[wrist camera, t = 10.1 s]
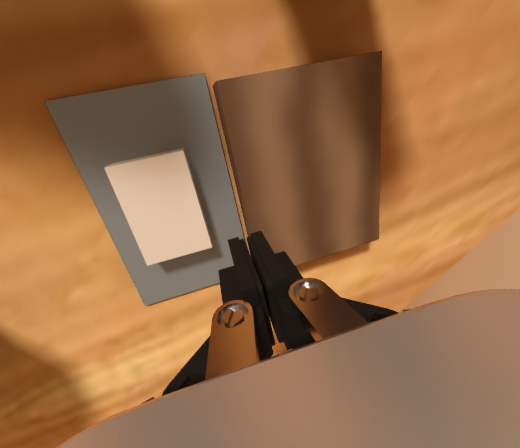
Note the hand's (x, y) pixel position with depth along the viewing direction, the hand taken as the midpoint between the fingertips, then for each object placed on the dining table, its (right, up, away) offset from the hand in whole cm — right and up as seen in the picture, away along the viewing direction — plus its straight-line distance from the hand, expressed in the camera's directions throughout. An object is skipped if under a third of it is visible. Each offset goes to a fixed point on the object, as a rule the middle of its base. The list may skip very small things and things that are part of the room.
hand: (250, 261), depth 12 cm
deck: (+5, +7, +14) cm, 16 cm away
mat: (-8, +4, +12) cm, 15 cm away
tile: (-8, +3, +10) cm, 13 cm away
